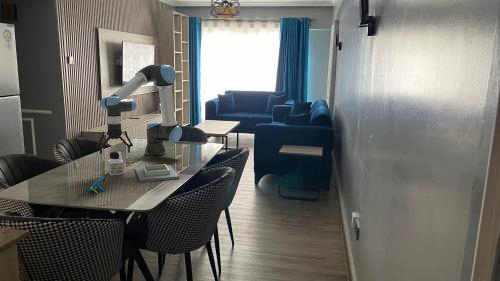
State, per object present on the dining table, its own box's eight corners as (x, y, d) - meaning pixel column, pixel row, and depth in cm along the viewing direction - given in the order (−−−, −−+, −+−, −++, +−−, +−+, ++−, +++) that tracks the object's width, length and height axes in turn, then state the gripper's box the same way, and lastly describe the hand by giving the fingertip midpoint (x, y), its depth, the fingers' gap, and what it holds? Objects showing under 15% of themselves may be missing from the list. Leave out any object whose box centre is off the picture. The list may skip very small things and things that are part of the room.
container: (110, 175, 222) (109, 154, 220) (108, 172, 229) (107, 151, 227) (124, 174, 226) (123, 152, 223) (121, 170, 233) (121, 150, 230)
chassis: (134, 169, 235) (134, 163, 235) (170, 167, 244) (170, 161, 243) (139, 182, 212) (139, 175, 211) (179, 178, 220) (179, 172, 220)
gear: (94, 183, 202) (105, 172, 198) (103, 191, 203) (113, 180, 199) (82, 193, 192) (93, 181, 188) (91, 201, 192) (102, 189, 189)
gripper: (91, 124, 213) (92, 161, 217) (137, 123, 223) (137, 158, 227) (91, 122, 220) (92, 158, 224) (135, 121, 230) (136, 156, 234)
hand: (115, 158), depth 226 cm, fingers open, 13 cm apart
